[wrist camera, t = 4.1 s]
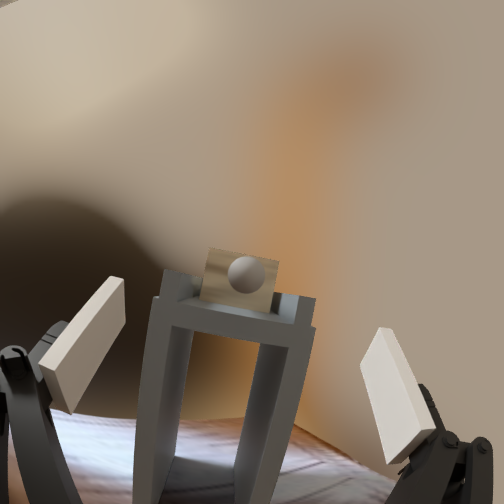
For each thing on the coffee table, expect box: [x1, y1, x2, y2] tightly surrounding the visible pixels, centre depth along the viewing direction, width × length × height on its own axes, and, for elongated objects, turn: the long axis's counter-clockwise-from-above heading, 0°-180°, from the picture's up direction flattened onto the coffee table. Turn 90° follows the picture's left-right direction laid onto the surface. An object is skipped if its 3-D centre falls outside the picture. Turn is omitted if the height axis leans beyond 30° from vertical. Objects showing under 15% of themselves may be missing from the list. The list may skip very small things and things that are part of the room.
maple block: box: [199, 248, 279, 313], centre depth 30 cm, size 27×8×6 cm, turn 3°
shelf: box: [132, 269, 316, 504], centre depth 34 cm, size 20×14×31 cm
